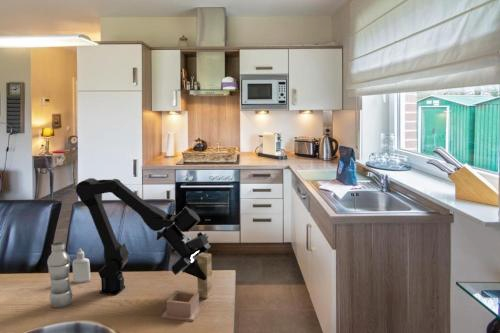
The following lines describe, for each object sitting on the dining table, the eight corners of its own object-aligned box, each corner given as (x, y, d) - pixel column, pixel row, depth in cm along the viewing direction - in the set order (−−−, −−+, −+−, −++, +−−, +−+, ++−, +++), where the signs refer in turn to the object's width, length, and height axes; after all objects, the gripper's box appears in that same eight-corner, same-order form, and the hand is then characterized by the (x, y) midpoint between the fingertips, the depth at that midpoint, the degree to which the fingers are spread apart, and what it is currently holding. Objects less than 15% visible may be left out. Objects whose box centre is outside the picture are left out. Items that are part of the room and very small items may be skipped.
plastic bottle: (77, 302, 131) (74, 241, 128) (61, 311, 125) (57, 248, 122) (61, 298, 133) (58, 239, 130) (45, 308, 127) (41, 246, 124)
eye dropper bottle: (84, 284, 145) (83, 251, 143) (71, 282, 146) (69, 250, 144) (92, 279, 149) (90, 247, 147) (79, 277, 150) (77, 246, 149)
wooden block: (197, 296, 135) (197, 256, 133) (202, 292, 138) (201, 252, 136) (207, 298, 134) (207, 257, 132) (211, 294, 137) (211, 253, 135)
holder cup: (161, 317, 121) (160, 303, 120) (174, 302, 131) (173, 288, 130) (193, 321, 119) (193, 306, 118) (204, 305, 129) (203, 291, 128)
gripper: (179, 234, 125) (212, 273, 123) (205, 219, 143) (234, 253, 141) (157, 255, 129) (189, 294, 127) (185, 238, 146) (213, 272, 144)
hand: (208, 277), depth 135 cm, fingers open, 4 cm apart
